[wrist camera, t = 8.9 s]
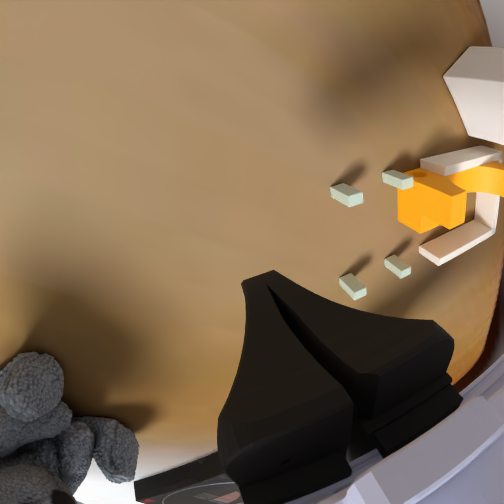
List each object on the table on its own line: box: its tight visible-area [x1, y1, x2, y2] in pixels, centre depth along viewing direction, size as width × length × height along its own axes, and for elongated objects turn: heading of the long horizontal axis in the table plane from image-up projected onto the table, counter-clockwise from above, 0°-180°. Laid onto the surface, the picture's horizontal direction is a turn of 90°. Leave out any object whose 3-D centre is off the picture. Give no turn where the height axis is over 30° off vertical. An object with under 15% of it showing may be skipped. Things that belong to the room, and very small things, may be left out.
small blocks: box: [330, 183, 366, 300], centre depth 23 cm, size 9×1×2 cm, turn 13°
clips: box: [382, 170, 413, 278], centre depth 24 cm, size 9×1×2 cm, turn 13°
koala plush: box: [0, 351, 139, 504], centre depth 15 cm, size 17×18×20 cm
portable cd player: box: [134, 452, 243, 504], centre depth 36 cm, size 16×17×4 cm
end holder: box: [419, 145, 502, 266], centre depth 25 cm, size 10×11×3 cm
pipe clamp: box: [397, 161, 504, 234], centre depth 22 cm, size 12×4×6 cm, turn 103°
